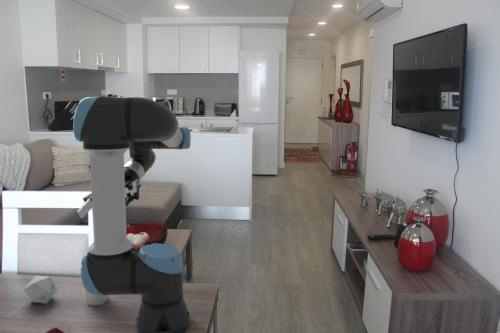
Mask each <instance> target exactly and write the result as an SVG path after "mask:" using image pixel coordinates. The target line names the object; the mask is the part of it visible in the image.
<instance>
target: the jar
mask: <svg viewBox="0 0 500 333" xmlns="http://www.w3.org/2000/svg"><path fill="white" fill-rule="evenodd" d="M85 299H86V300H85V301H86V304H87V305H89V306H100V305H104V304H105V303H107V301H108V300H109V295H106V296H103V295H94V294H90V293H89V292H88V291H87V290H86V289H85Z"/></svg>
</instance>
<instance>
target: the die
mask: <svg viewBox="0 0 500 333" xmlns="http://www.w3.org/2000/svg"><path fill="white" fill-rule="evenodd" d="M23 291H24V293H25V294H26V295H27V297H28V299H29V300H30V302H31V303H35V304H45V305H46V304H48V303H49V302H50V300H51V298H53V297H54V295H55V294H56V292H57V291H58V287H57V285H56V284H55V283H54V281H53V279H52V278H51V276H46V275H45V276H43V275H34V276H33V277H32V279H31V280H30V282H29V283H28V284H27V285H26V286H25V287H24V289H23Z"/></svg>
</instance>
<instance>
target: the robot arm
mask: <svg viewBox="0 0 500 333" xmlns="http://www.w3.org/2000/svg"><path fill="white" fill-rule="evenodd" d="M178 124H179V123H178V119H177V117H176V114H175V113H174V112H173V111H172V110H171V109H170V108H168V107H167V106H165V105H164V104H162V103H160V102H157V101H155V100H153V99H150V98H146V97H140V96H133V97H130V96H129V97H127V96H126V97H125V96H101V95H99V96H91V97H90V96H87V97H84V98H82V99H81V100H80V101H79V102H78V104H77V106H76V109H75V111H74V116H73V124H72V128H73V130H72V132H73V134H74V139H75V140H76V141H78V142H79V143H82V149H83V151H85V152H86V153H87V154H88V155H89V166H90V167H89V168H90V171H89V172H90V187H91V188H90V189H91V192H90V193H89V194H87V195H85V196H84V197H83V198H82V200H83V201H84V203H83V204H82V205H81V206H80V208H78V209H77V211H76V212H77V214H78V215H79V218H80V219H84V217H85V216H86V215H87V214H88V213H89V212H90V211H91V212H92V229H93V231H92V232H93V242H92V243H91V244H90V245H89V246H88V248H87V252H85V254H83V256H82V259H81V263H80V264H81V267H80V275H81V276H80V277H81V280H82V285H83V287H84V289H85V291H86V290H87V291H88V292H89V293H90V294H94V295H103V296H106V295H108V296H121V295H122V296H123V295H124V296H125V295H126V296H127V295H140V296H141V303H140V307H139V310H138V315H136V316H137V317H136V320H135V326H136V327H135V328H136V332H137V333H186V332H187V331H188V329H189V328H190V325H191V315H190V312H189V310H188V307H187V304H186V302H185V298H184V275H183V274H184V272H183V271H184V264H183V255H182V253H181V251H180V250H179V249H178V248H176V247H175V246H173V245H170V244H165V243H159V242H158V243H151V244H145V245H143V246H142V247H141V248H140V249H139V251H134V250H133V242H131V241H129V240H128V238H127V216H126V214H127V212H126V208H127V207H128V206H129V205H130V203H132V202H134V200H136V201H138V200H139V199H140V188H141V186H142V185H141V180H142V178H143V177H144V176H145V174H146V173H147V172H148V171H149V170H150V169H151V168H152V167H153V166H154V163H156V159H157V156H156V153H155V152H154V150H188V149H190V147H191V141H192V140H191V135H192V134H191V130H190V129H189V128H187V127H186V128H185V127H179V125H178ZM128 150H129V151H128ZM127 151H128V152H129V159H128V161H127V162H126V163H125V157H124V156H125V154H126V152H127ZM130 191H132V193H131V192H130Z"/></svg>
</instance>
